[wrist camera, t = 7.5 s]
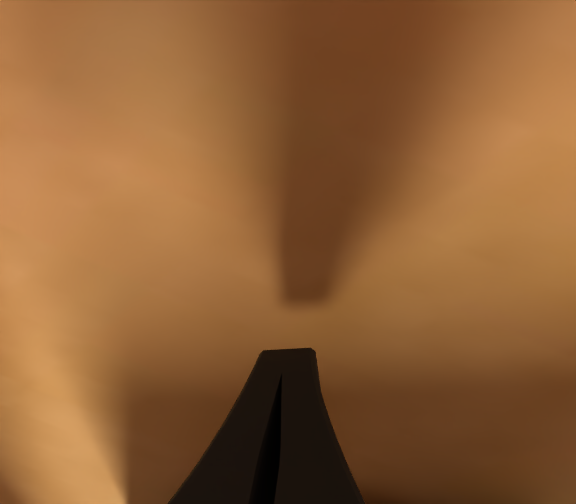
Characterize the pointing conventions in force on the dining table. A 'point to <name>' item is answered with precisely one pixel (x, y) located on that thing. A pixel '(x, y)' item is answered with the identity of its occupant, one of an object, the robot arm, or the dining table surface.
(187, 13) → the dining table surface
